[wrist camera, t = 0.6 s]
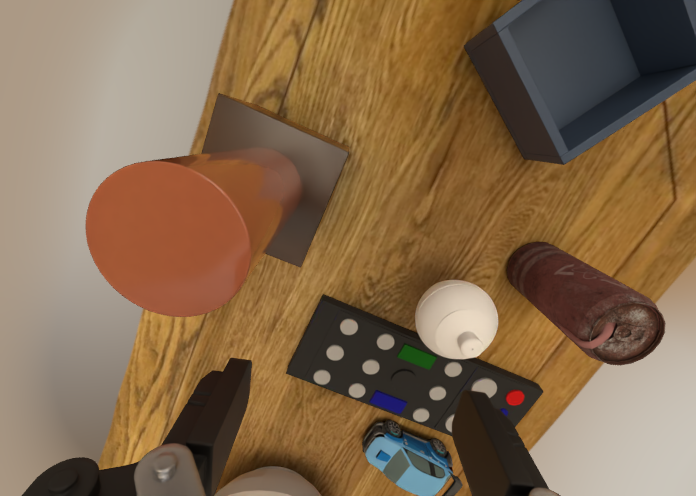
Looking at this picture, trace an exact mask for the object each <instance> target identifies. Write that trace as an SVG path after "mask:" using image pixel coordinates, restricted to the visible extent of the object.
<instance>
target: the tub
mask: <svg viewBox="0 0 696 496" xmlns="http://www.w3.org/2000/svg"><path fill="white" fill-rule="evenodd" d="M464 48H465V50H466V51H467V53H468V55H469V57H470V59H471V61H472V63H473V64H474V66H475V68H476V70H477V72H478V74H479V76H480V77H481V79H482V81H483V83H484V85H485V87H486V89H487V91H488V92H489V94H490V96H491V98H492V100H493V102H494V104H495V105H496V107H497V109H498V111H499V113H500V115H501V117H502V118H503V120H504V122H505V124H506V126H507V128H508V130H509V131H510V133H511V135H512V137H513V139H514V141H515V143H516V145H517V146H518V148H519V150H520V152H521V154H522V156H523V158H524V159H528V160H535V161H542V162H549V163H556V164H563V165H564V164H566V163H568V162H569V161H571V160H572V159H574V158H575V157H577V156H578V155H580V154H582V153H583V152H585V151H586V150H588V149H589V148H591V147H592V146H594V145H596V144H597V143H599V142H600V141H602V140H603V139H605V138H606V137H608V136H610V135H611V134H613V133H614V132H616V131H617V130H619V129H621V128H622V127H624V126H625V125H627V124H628V123H630V122H631V121H633V120H635V119H636V118H638V117H639V116H641V115H642V114H644V113H645V112H647V111H649V110H650V109H652V108H653V107H655V106H656V105H658V104H659V103H661V102H663V101H664V100H666V99H667V98H669V97H670V96H672V95H673V94H675V93H677V92H678V91H680V90H681V89H683V88H684V87H686V86H687V85H689V84H691V83H692V82H694V81H695V80H696V0H522V1H521V2H519V3H518V4H517V5H515V6H514V7H513V8H511V9H510V10H509V11H507V12H506V13H505V14H504V15H502V16H501V17H500V18H498V19H497V20H496V21H494V22H493V23H492V24H491V25H489V26H488V27H487V28H485V29H484V30H483V31H482V32H480V33H479V34H478V35H476V36H475V37H474V38H473V39H471V40H470V41H469V42H467V43H466V44H465V45H464Z"/></svg>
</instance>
